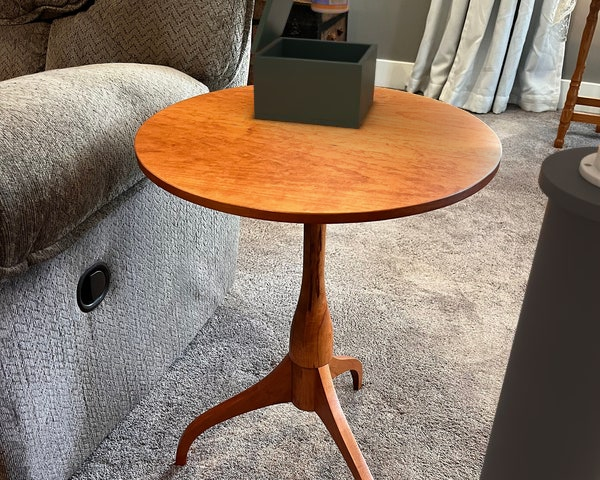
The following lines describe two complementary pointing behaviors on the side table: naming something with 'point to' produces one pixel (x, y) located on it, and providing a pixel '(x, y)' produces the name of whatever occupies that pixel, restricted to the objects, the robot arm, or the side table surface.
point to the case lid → (271, 23)
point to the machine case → (314, 81)
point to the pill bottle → (330, 6)
